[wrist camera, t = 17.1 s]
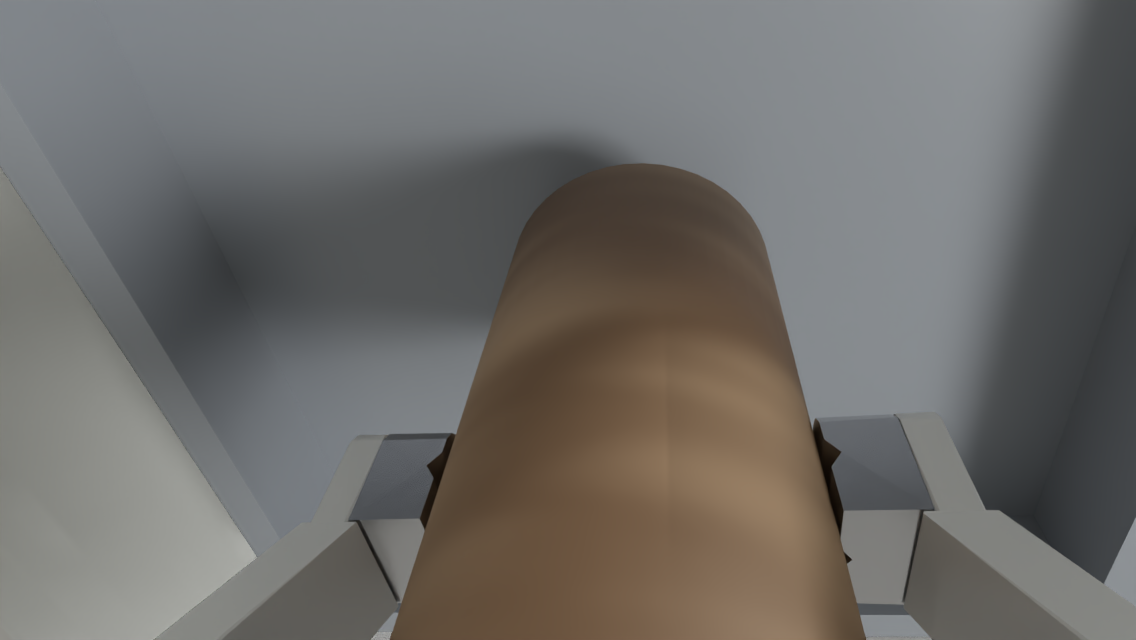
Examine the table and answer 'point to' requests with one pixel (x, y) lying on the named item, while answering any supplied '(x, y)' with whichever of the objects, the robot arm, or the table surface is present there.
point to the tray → (567, 151)
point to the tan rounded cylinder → (634, 439)
